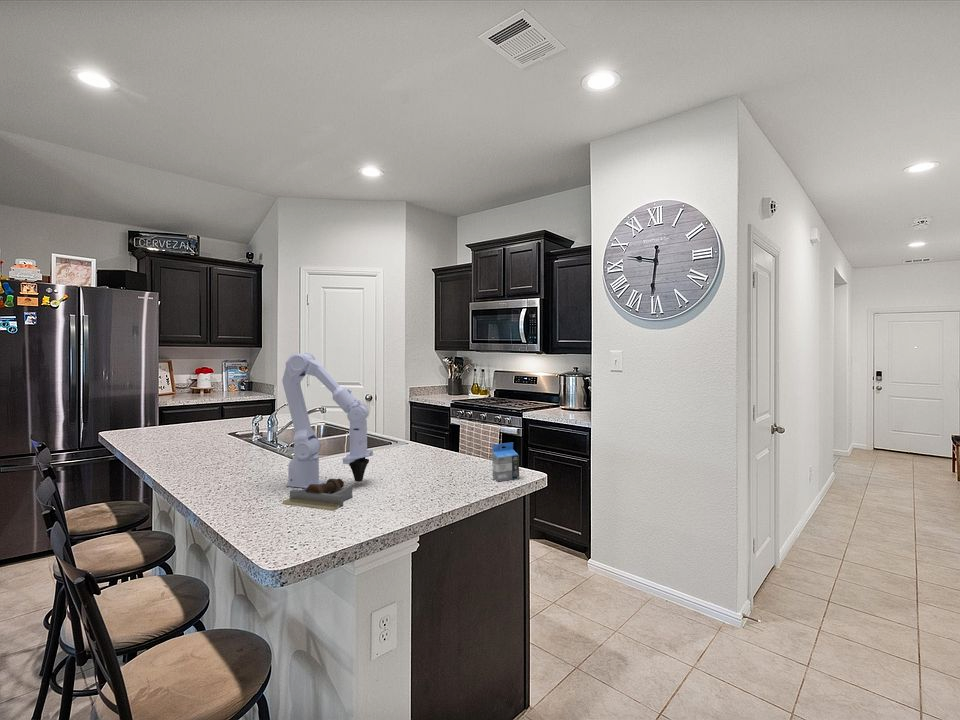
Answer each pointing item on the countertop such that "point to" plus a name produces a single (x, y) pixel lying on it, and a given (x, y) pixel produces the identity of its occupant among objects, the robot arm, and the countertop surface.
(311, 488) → the bolt
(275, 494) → the countertop surface
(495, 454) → the label tape box
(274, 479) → the countertop surface
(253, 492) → the countertop surface
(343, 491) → the grey shallow rectangular tray
